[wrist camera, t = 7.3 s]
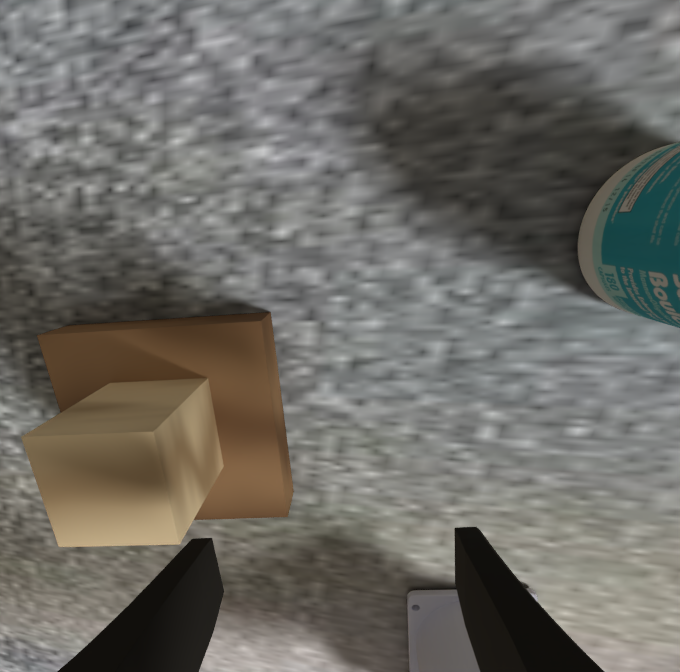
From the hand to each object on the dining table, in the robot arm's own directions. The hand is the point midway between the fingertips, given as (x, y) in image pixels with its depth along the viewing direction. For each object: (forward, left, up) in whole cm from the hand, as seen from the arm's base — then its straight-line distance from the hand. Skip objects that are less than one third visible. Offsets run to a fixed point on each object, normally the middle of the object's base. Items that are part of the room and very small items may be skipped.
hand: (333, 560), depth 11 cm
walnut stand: (0, +9, -10) cm, 13 cm away
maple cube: (0, +9, -8) cm, 12 cm away
